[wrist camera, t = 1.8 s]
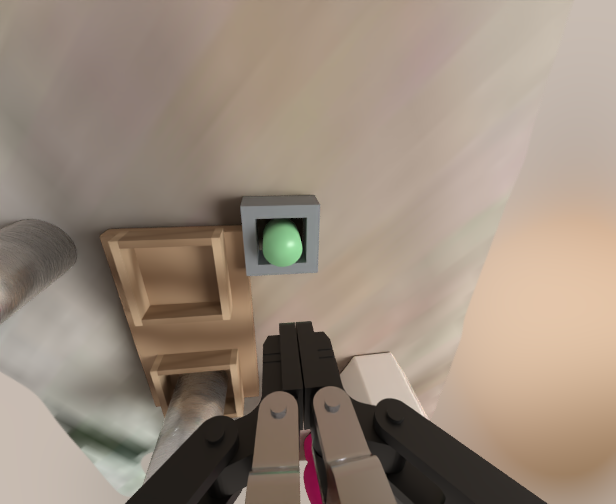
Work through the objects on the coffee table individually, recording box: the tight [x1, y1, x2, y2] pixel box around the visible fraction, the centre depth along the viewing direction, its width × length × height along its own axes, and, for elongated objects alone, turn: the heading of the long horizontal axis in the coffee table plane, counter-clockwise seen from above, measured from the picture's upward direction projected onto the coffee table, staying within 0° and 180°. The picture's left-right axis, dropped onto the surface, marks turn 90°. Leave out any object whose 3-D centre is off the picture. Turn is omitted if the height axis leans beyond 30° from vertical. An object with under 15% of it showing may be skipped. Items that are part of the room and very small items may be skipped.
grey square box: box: [240, 195, 320, 276], centre depth 24 cm, size 6×6×3 cm
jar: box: [340, 352, 430, 504], centre depth 30 cm, size 9×8×12 cm
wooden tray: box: [99, 225, 259, 418], centre depth 27 cm, size 21×11×4 cm, turn 179°
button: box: [263, 218, 302, 267], centre depth 23 cm, size 3×3×3 cm
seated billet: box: [142, 370, 228, 486], centre depth 25 cm, size 5×5×11 cm
